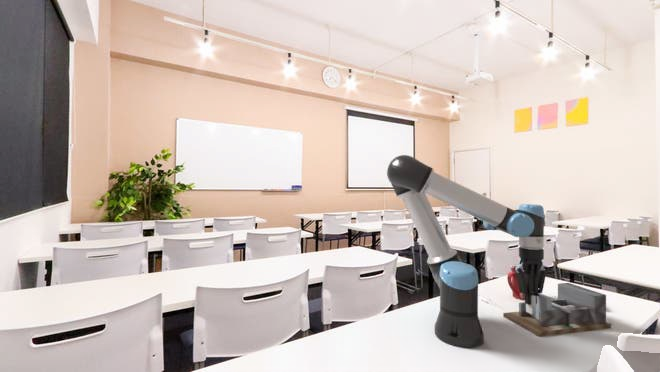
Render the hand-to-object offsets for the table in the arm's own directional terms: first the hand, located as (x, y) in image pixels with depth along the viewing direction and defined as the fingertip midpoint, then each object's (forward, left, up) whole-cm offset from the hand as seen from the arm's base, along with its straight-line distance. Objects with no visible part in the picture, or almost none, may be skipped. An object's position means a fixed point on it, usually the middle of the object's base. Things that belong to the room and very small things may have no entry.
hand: (530, 312), depth 112 cm
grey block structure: (+11, 0, -4) cm, 11 cm away
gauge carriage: (+8, -2, -3) cm, 8 cm away
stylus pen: (0, +20, -5) cm, 21 cm away
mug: (+18, +24, -5) cm, 30 cm away
